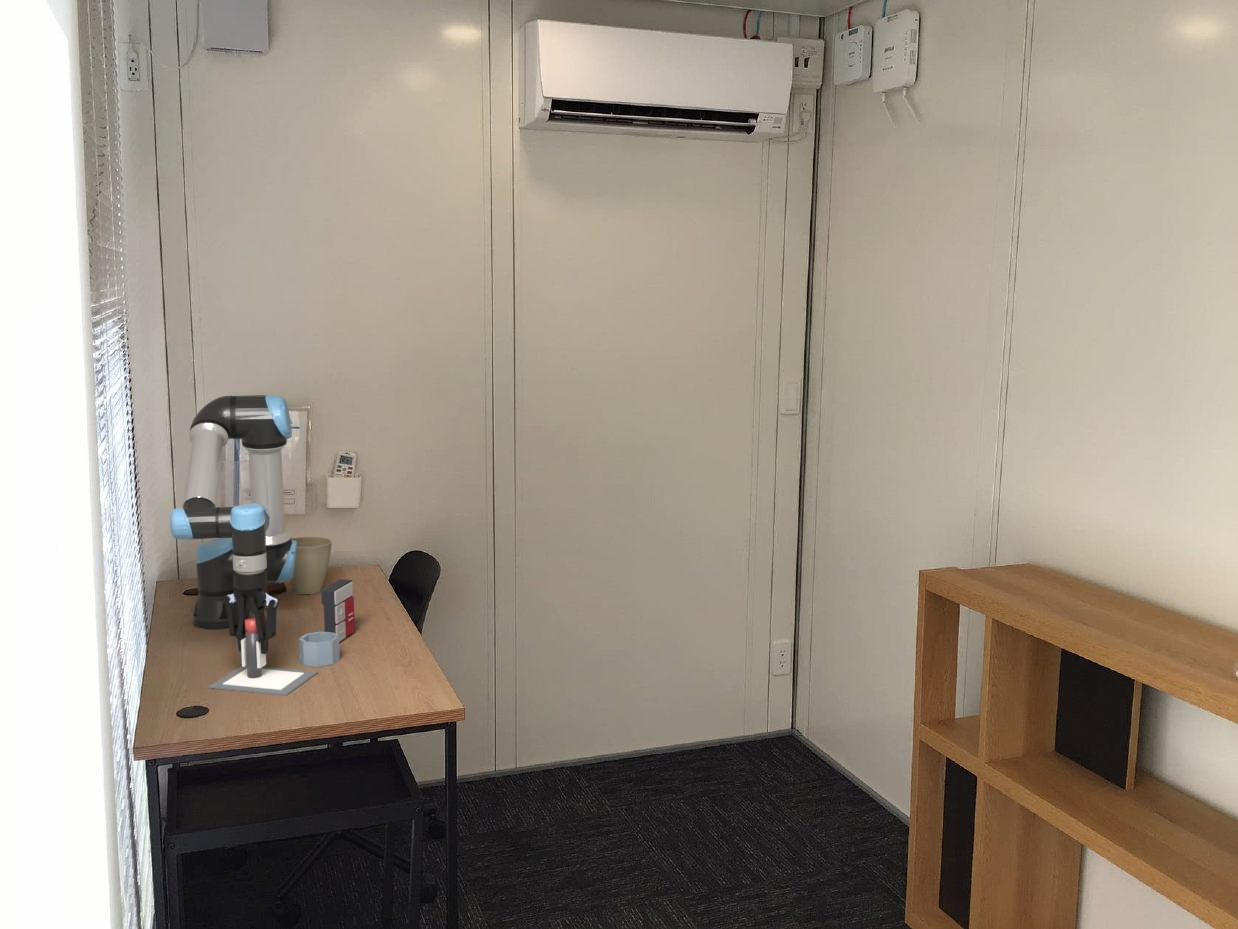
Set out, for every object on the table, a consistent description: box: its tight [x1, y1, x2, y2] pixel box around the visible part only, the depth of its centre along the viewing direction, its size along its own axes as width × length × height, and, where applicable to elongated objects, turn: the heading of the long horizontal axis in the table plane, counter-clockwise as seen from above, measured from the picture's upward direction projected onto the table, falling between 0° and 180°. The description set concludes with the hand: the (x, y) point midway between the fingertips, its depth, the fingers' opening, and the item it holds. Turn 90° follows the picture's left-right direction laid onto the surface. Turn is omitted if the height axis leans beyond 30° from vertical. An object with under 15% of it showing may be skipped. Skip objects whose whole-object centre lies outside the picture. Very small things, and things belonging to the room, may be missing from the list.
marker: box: [245, 616, 262, 678], centre depth 247 cm, size 3×3×14 cm
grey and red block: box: [320, 578, 356, 643], centre depth 277 cm, size 11×4×15 cm, turn 168°
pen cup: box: [298, 631, 341, 668], centre depth 261 cm, size 9×9×6 cm
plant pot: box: [290, 536, 333, 595], centre depth 321 cm, size 15×15×16 cm
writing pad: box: [207, 665, 319, 697], centre depth 247 cm, size 20×15×1 cm
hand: (254, 665), depth 248 cm, fingers closed on marker, 3 cm apart
